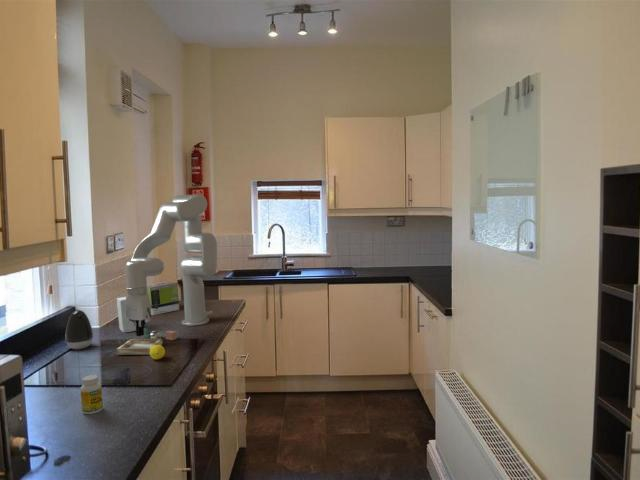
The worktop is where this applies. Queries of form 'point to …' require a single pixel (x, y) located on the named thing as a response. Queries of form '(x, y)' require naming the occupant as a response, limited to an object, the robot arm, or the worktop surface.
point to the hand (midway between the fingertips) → (140, 335)
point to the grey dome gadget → (78, 331)
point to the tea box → (163, 297)
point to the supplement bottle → (91, 395)
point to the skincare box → (124, 317)
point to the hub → (156, 334)
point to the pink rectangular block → (171, 335)
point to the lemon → (157, 352)
